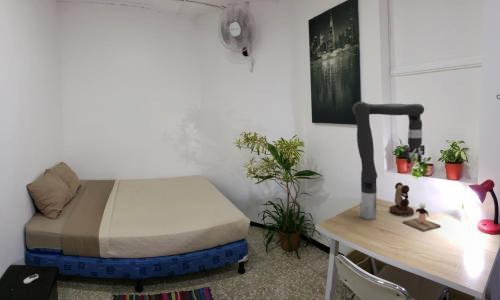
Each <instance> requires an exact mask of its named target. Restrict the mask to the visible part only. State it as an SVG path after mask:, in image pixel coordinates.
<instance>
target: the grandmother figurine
mask: <svg viewBox="0 0 500 300" xmlns="http://www.w3.org/2000/svg"><path fill="white" fill-rule="evenodd" d="M418 207H419V208H417V209H415V211H414V214H418V218H419V223H420V224H421V223H422V222H423V223H422V224H424V225H425V224H427V223H426V220H427V219H426V217H430V215H429V212H428V211H427V210H426V209H425V208H426V203H424V202H421V203H419V205H418Z"/></svg>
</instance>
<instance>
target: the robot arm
mask: <svg viewBox="0 0 500 300" xmlns="http://www.w3.org/2000/svg"><path fill="white" fill-rule="evenodd" d="M424 111H425V107H424V105H422V104H420V103H367V102H365V101H358V102H356V103H354V105H353V106H352V113H353V114H354V117H355V120H356V142H357V149H358V154H359V158H360V161H361V174H360V189H361V190H360V194H361V195H360V202H359V217H361V218H362V219H364V220H375V219H376V218H377V197H378V196H377V192H378V191H377V189H378V188H377V179H378V173H377V170H376V169H377V168H376V165H375V160H374V159H375V151H374V139H373V138H374V137H373V132H372V128H371V125H370V124H371V122H370V115H385V116H407V117H408V132H407V145H408V146H405V147H404V149H403V150H404V151H403V157H405V158H406V163H407V165H408V164H409V165H411V164H412V156H413V155H414V154H416V155H417V156H416V158H417V160H416V162H418V163H421V162H422V158H423V156H424V155H425V154H426V153H425V148H426V147H425V145H424V144H423V122H422V119H421V116H422V115H423V113H424ZM422 144H423V145H422Z"/></svg>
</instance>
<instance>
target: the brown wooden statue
mask: <svg viewBox="0 0 500 300" xmlns="http://www.w3.org/2000/svg"><path fill="white" fill-rule="evenodd" d="M394 189H395V192H394V193H395V194H394V203H395V204H394V205H391V206H389V207H388V209H389V211H390V212H391V213H393V214H397V215H398V217H400V216H401V215H403V216H405V215H406V216H407V215H409V216H410V215H414V214H415V209H414V208H413V207H411V206H409V204H410V201H409V194H408V193H409V191H410V187H409V185H407V184H405V185H404V184H403V183H402V182H397V183H396V184H395V185H394Z"/></svg>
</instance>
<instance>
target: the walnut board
mask: <svg viewBox="0 0 500 300" xmlns="http://www.w3.org/2000/svg"><path fill="white" fill-rule="evenodd" d="M422 223H423V222H422ZM422 223H421V224H420V223H419V217H416V218H411V219H407V220H402V224H404V225H406V226H409V227H410V228H413V229H416V230H418V231H420V232H422V233H423V232H428V231H432V230H436V229H439V228H441V224H438V223H435V222H433V221H430V220H428V219H426V223H427V224H425V225H424V224H422Z"/></svg>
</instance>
